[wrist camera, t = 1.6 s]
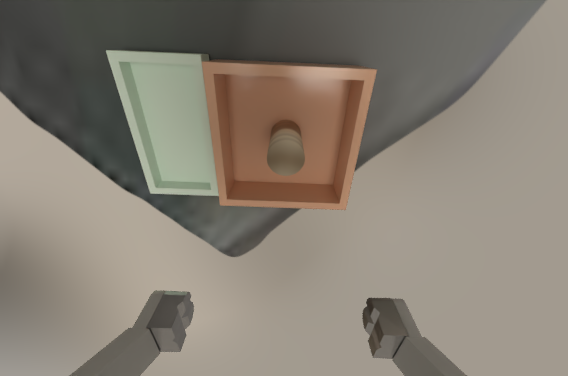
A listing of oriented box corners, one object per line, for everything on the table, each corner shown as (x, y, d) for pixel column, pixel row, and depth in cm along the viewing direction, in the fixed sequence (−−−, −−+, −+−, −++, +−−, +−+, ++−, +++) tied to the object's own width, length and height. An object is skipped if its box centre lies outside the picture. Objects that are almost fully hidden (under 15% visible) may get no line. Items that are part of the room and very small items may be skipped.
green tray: (122, 50, 27) (105, 50, 24) (208, 54, 27) (200, 54, 24) (160, 183, 36) (150, 193, 34) (223, 185, 36) (218, 195, 34)
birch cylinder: (271, 118, 30) (266, 139, 23) (302, 120, 30) (306, 141, 23) (270, 148, 32) (266, 175, 25) (299, 149, 32) (303, 176, 25)
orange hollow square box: (217, 59, 27) (201, 61, 22) (360, 65, 27) (376, 69, 22) (229, 183, 36) (220, 205, 31) (337, 187, 36) (345, 210, 31)
